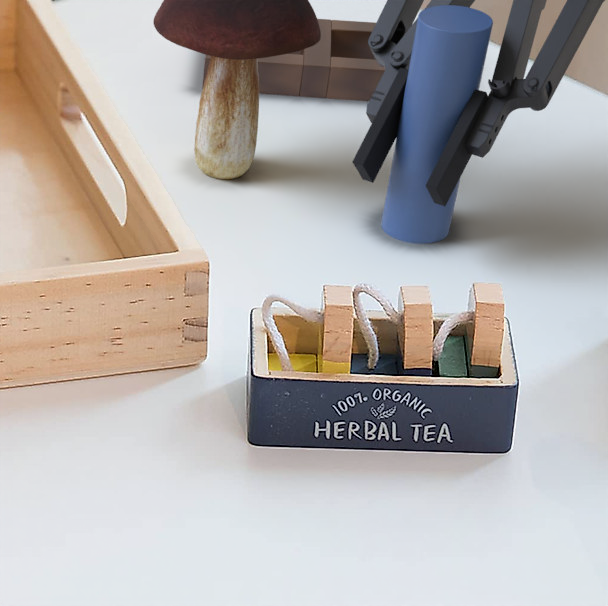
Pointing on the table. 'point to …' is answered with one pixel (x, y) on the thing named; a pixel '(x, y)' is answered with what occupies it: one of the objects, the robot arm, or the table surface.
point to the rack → (324, 65)
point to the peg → (433, 116)
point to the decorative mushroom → (234, 67)
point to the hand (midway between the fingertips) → (399, 183)
